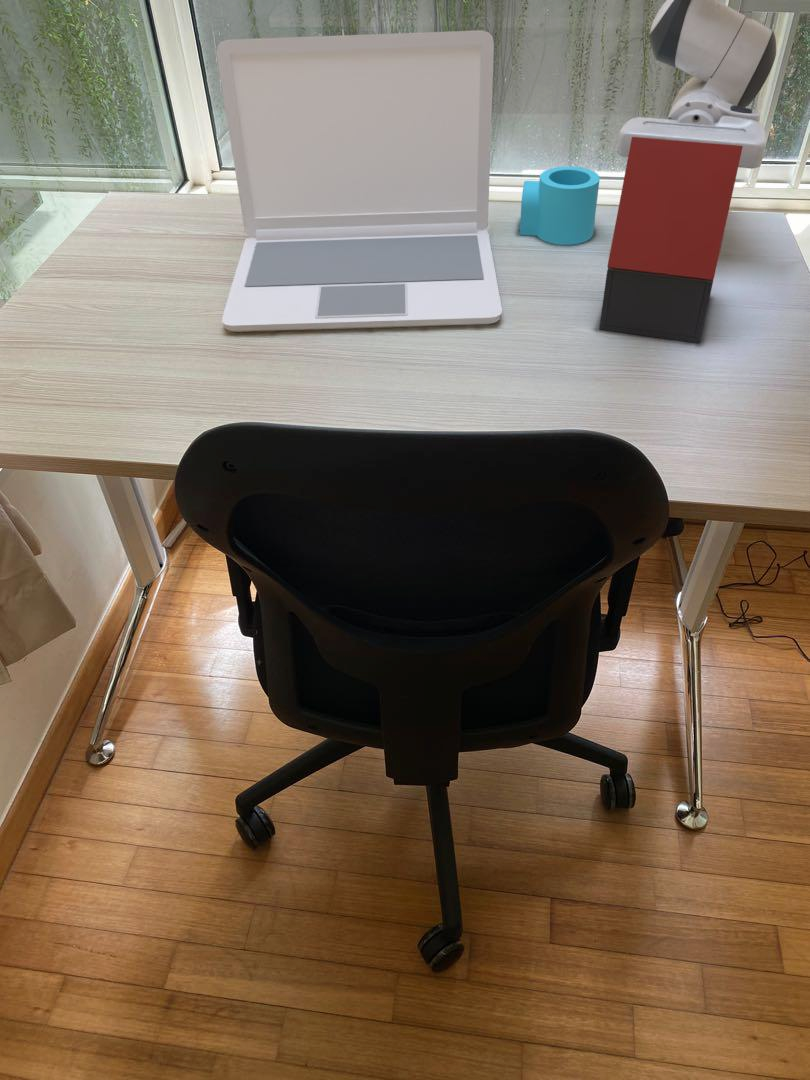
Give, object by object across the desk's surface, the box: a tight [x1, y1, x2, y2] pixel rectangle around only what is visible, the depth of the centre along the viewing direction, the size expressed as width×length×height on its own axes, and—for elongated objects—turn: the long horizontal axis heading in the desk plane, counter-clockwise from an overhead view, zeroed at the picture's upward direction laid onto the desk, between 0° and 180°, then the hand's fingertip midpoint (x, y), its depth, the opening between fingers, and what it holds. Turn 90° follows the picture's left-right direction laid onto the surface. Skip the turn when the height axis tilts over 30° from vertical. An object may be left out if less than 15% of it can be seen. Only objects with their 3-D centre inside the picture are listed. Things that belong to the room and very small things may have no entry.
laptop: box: [216, 29, 503, 333], centre depth 124 cm, size 40×31×31 cm
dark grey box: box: [598, 267, 714, 344], centre depth 122 cm, size 14×14×9 cm
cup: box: [519, 165, 601, 246], centre depth 143 cm, size 12×10×9 cm
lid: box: [606, 137, 743, 281], centre depth 112 cm, size 16×14×1 cm
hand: (684, 162), depth 120 cm, fingers closed
